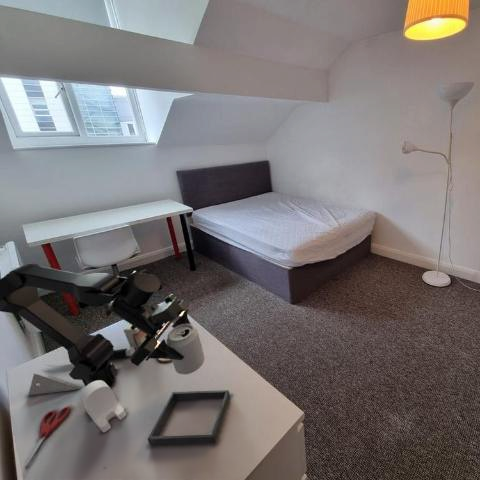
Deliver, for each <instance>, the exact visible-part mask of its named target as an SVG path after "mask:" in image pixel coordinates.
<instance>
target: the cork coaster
mask: <svg viewBox="0 0 480 480" xmlns="http://www.w3.org/2000/svg"><path fill="white" fill-rule="evenodd" d="M157 360H158V361H159V362H161V363H167V362H173V361H172V359H163V358H157Z"/></svg>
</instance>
